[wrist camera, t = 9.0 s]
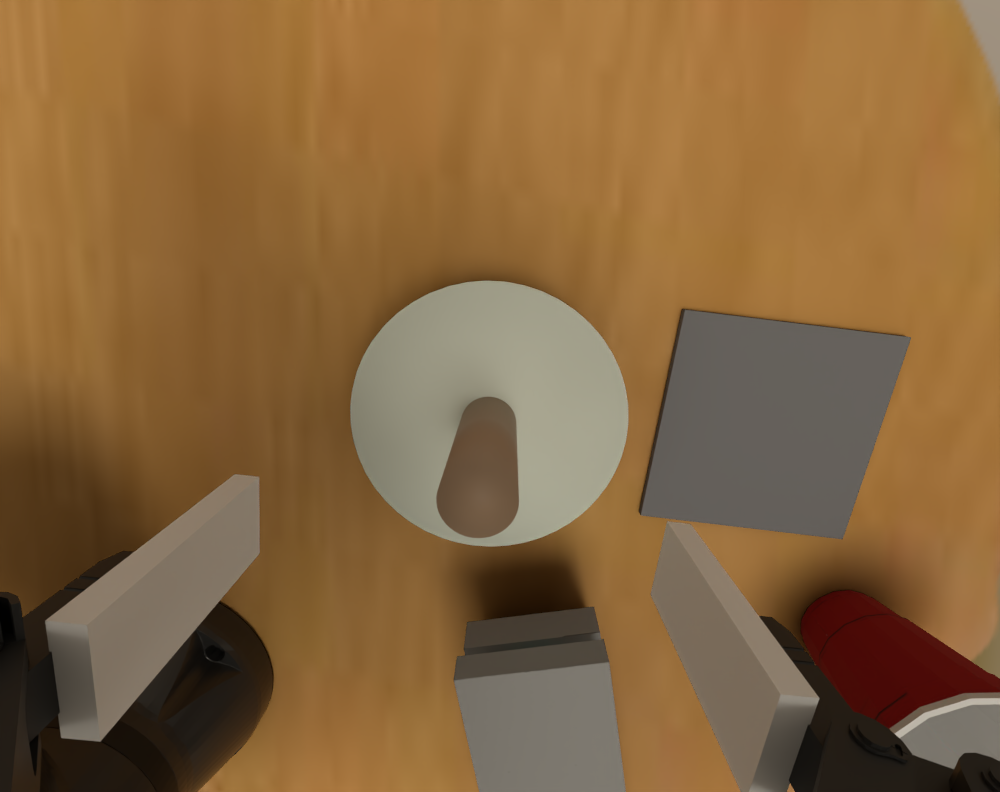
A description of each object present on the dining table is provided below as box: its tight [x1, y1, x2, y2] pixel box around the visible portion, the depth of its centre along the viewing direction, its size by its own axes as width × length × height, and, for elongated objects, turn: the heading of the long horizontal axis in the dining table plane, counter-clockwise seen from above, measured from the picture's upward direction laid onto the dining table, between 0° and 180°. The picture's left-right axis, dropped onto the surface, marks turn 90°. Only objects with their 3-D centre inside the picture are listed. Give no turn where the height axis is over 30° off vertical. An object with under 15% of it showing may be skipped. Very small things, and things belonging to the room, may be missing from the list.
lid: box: [350, 280, 628, 547], centre depth 22 cm, size 15×15×10 cm
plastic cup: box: [801, 590, 1000, 769], centre depth 30 cm, size 11×11×12 cm
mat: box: [639, 309, 911, 539], centre depth 32 cm, size 14×14×1 cm
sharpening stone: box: [454, 607, 626, 792], centre depth 33 cm, size 25×8×11 cm, turn 9°
